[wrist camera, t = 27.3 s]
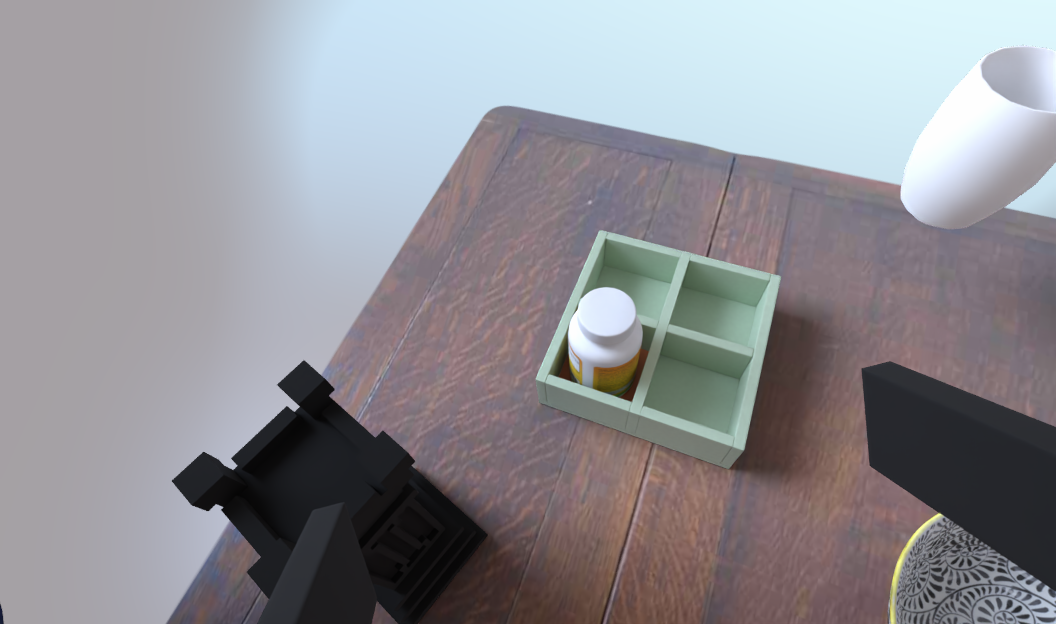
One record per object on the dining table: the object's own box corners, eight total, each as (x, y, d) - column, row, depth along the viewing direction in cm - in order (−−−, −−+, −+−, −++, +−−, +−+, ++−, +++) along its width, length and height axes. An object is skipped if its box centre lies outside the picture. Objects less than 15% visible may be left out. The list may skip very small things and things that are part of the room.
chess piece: (409, 632, 37) (268, 618, 20) (335, 552, 40) (158, 482, 23) (487, 535, 40) (421, 451, 23) (412, 467, 43) (305, 349, 26)
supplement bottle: (646, 361, 46) (661, 297, 37) (616, 414, 43) (625, 359, 35) (588, 333, 47) (591, 266, 39) (557, 383, 45) (552, 323, 37)
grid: (538, 402, 45) (535, 379, 41) (598, 260, 52) (599, 229, 48) (728, 469, 41) (744, 451, 37) (765, 306, 48) (781, 276, 44)
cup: (885, 243, 51) (1049, 28, 33) (936, 307, 47) (1151, 102, 29) (813, 263, 50) (940, 55, 33) (858, 329, 46) (1029, 134, 29)
